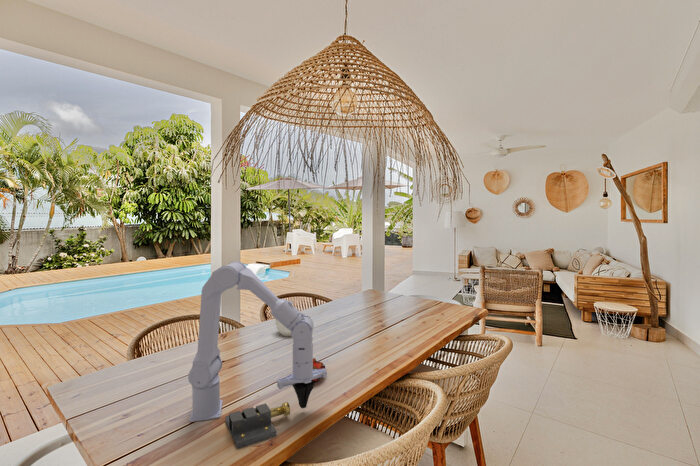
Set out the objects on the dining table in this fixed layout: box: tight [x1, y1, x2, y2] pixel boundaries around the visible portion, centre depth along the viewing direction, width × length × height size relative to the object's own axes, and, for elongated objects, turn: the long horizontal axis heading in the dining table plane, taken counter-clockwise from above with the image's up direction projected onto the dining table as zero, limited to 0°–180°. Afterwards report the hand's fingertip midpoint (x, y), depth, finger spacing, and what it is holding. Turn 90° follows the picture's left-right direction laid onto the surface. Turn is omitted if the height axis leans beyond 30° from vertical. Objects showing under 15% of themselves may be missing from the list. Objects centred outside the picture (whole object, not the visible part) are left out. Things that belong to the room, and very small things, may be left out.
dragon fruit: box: [312, 357, 326, 382], centre depth 121 cm, size 8×8×12 cm
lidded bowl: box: [275, 318, 292, 337], centre depth 168 cm, size 13×13×11 cm
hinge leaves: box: [224, 403, 278, 450], centre depth 94 cm, size 13×10×4 cm
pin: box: [257, 401, 291, 419], centre depth 96 cm, size 3×11×3 cm, turn 121°
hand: (302, 406), depth 101 cm, fingers closed
